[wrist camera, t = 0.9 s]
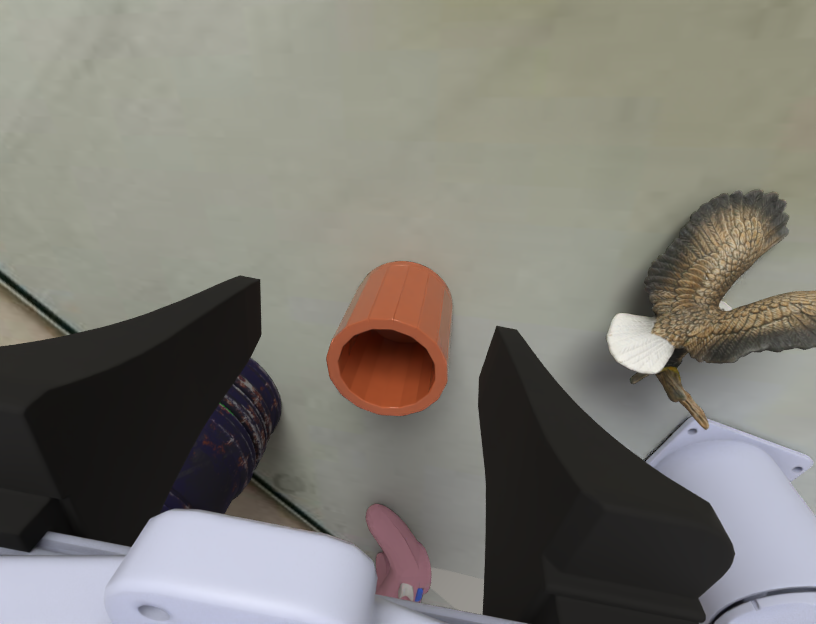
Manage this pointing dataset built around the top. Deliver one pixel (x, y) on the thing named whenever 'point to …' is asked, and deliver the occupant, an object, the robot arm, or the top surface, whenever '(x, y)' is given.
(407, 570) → the pink curved piece
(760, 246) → the eagle figurine
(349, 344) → the pot
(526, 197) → the top surface
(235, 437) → the oil barrel
